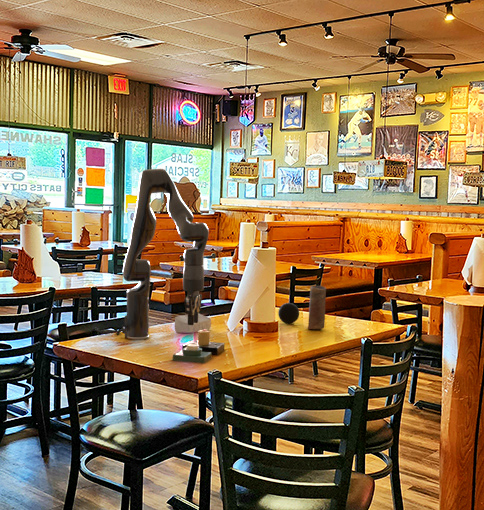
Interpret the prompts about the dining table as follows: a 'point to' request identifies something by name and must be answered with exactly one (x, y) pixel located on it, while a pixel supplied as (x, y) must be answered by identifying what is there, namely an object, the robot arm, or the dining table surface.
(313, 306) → the candle
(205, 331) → the knob
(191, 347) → the button
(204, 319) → the stone
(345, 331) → the dining table surface
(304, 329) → the dining table surface
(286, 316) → the decorative ball
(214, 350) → the panel
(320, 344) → the dining table surface
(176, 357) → the button block
